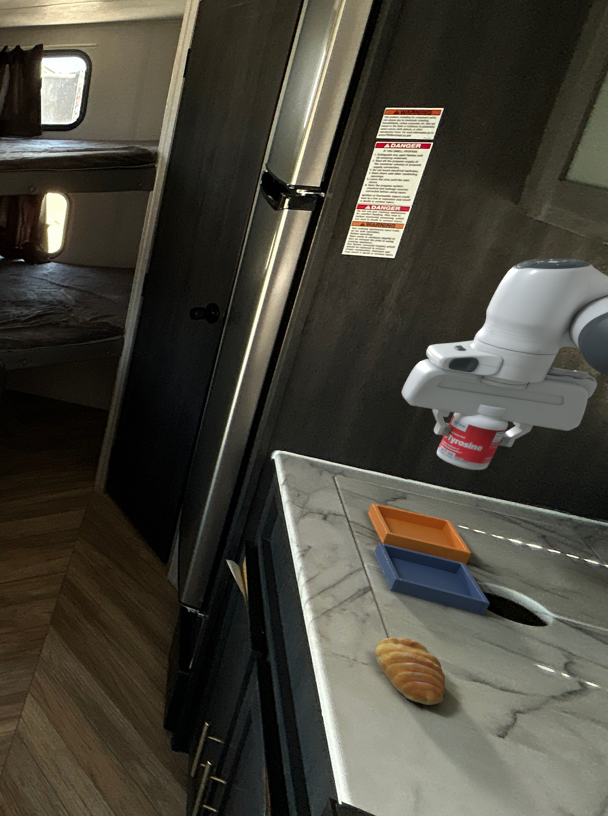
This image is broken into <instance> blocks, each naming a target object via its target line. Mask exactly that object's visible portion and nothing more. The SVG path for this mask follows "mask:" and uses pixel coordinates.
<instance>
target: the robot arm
mask: <svg viewBox="0 0 608 816" xmlns="http://www.w3.org/2000/svg"><path fill="white" fill-rule="evenodd" d="M485 313H486V314H485V315H486V317H485V318H486V319H485V322H484V323H483V326H482V327H481V328H480V329H479V330H478V331H477V332H476V333H475V336H474V338H473V340H465V341H458V342H448V343H445V342H444V343H436V344H430V345H429V346H428V347H427V348H426V352H425V354H426V357H427V358H426V359H423V360H421V361H419V362H418V363H416V365H415V366H413V368H412V370H411V371H410V373H409V375H408V376H407V379H406V381H405V382H404V384H403V387H402V389H401V396H402V398H403V399H404V400H405V401H406V402H407V404H409V406H412V407H419V408H425V409H430V410H432V414H433V416H434V419H435V421H436V423H435V425H434V427H433V432H434V434H435V435H438V436H443V437H444V436H449V435H450V433H449V432H451V430H452V427H451V426H450V422H445V419H444V418H448V417H449V415H450V414H451V413H461V414H467V415H479V414H480V413H478V408H479V406H480V405H488V406H494V407H500V408H506V410H505V412H504V415H502V416H499V419H500V420H504V421H507V422H511V423H512V425H515V426H513V427H511V428H510V429H508V430H506V431H505V433H504V435H503V437H502V439H501V441H500V443H499V445H498V446H500V447H507V448H511V447H512V446H513V445H514V443H515V441H516V439H519V438H521V437H522V436H524V435H526V434H528V433H530V432H531V431H532V429H533V427H534V426H536V427H542V428H548V429H553V430H560V431H572V430H574V429H575V428H577V427H579V426H580V424H581V422H582V420H583V418H584V414H585V411H586V407H587V404H588V399H590V398H591V396H593V394H594V392H595V391H596V389H597V386H598V382H597V380H596V379H595V377H594V376H591V375H590V374H589V373H588V372H586V371H582V370H570V369H564V368H559V367H552V364H553V362H554V361H555V359H556V357H557V355H558V353H559V351H560V350H561V349H562V348H567V347H568V348H574V349H579V351H580V353H581V355H582V357H583V359H584V361H585V362H586V363H587V364H588V365H589V367H591V368H592V369H594V370H595V371H597V372H598V373H600V374H602V375H604V376H606V377H608V275H606V274H605V273H603V272H601V271H600V270H599V269H597V268H596V267H594V266H593V264H591V262H588V261H585V260H581V259H575V258H564V257H544V258H542V257H541V258H533V259H529V260H524V261H522V262H519V263H517V264H515V265H514V266H512V267H511V268H510V269H509V270H508V271H507V272H506V274H505V275H504V276H503V278H502V280H501V281H500V283H499V284H498V286H497V288H496V290H495V292H494V294H493V295H492V297H491V300H490V301H489V304H488V306H487V308H486V312H485Z"/></svg>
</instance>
